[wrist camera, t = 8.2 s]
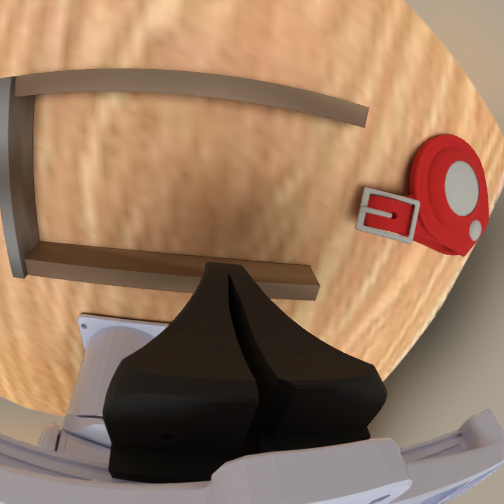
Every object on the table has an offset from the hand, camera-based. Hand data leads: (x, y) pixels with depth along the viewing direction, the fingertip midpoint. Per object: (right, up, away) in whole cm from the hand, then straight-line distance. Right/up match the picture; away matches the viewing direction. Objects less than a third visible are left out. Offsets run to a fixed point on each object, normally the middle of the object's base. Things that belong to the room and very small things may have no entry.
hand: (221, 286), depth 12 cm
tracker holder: (+14, +6, +9) cm, 18 cm away
